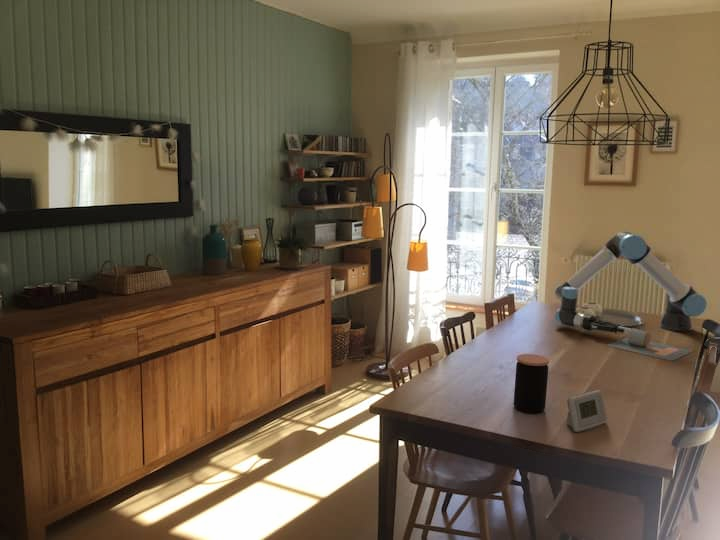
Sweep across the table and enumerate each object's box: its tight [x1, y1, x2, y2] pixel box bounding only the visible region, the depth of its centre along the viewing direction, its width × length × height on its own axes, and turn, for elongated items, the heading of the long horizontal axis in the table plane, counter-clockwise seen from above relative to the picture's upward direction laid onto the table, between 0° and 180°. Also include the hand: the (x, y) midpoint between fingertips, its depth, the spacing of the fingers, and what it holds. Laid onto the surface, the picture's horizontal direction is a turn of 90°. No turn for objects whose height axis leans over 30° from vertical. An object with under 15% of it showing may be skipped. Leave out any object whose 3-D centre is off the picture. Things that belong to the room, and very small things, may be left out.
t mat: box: [606, 337, 694, 362], centre depth 305 cm, size 24×30×1 cm
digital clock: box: [566, 389, 608, 433], centre depth 213 cm, size 16×9×11 cm, turn 113°
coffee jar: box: [512, 353, 550, 415], centre depth 225 cm, size 11×11×18 cm
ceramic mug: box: [627, 327, 651, 347], centre depth 309 cm, size 11×8×8 cm
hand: (631, 332), depth 311 cm, fingers closed
